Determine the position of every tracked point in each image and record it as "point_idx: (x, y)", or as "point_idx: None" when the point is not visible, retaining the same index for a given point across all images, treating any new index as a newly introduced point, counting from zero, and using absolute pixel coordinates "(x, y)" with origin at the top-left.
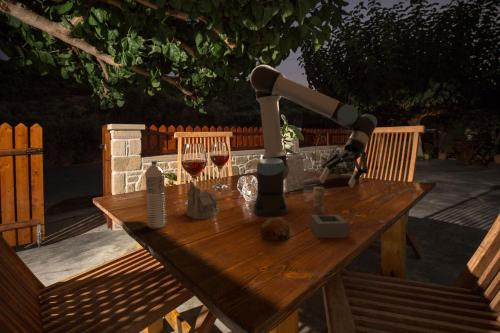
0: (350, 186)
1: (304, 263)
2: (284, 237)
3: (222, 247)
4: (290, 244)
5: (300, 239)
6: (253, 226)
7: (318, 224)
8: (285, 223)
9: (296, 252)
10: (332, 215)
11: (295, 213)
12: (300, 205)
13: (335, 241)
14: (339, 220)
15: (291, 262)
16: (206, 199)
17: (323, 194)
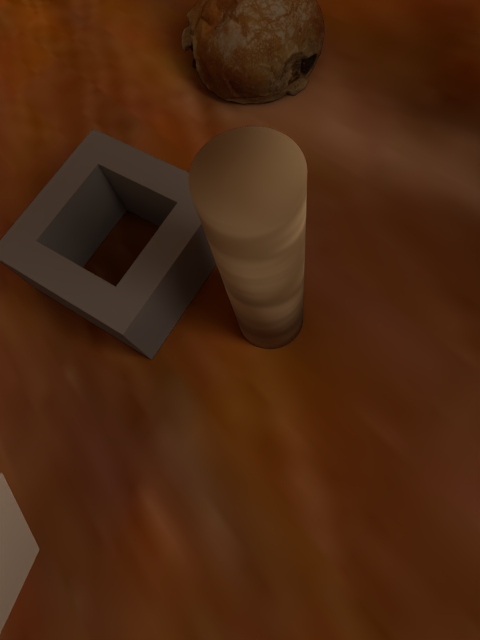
0: (20, 528)
1: (20, 32)
2: (194, 59)
3: None
4: (147, 64)
5: (159, 116)
6: (413, 34)
7: (94, 133)
8: (216, 35)
9: (86, 49)
10: (131, 285)
11: None
12: None
13: None
14: (46, 249)
15: (50, 9)
16: None
17: (202, 225)
